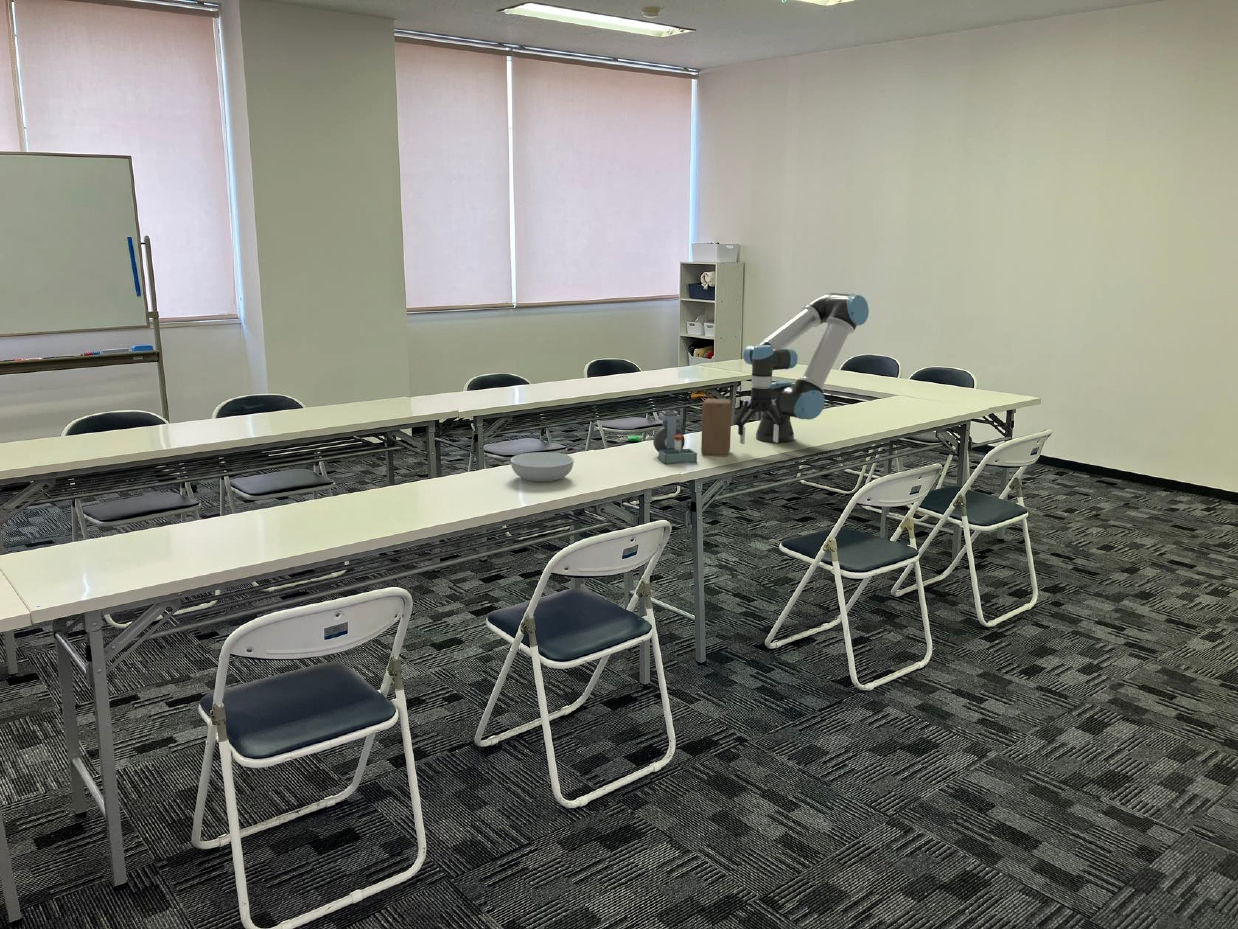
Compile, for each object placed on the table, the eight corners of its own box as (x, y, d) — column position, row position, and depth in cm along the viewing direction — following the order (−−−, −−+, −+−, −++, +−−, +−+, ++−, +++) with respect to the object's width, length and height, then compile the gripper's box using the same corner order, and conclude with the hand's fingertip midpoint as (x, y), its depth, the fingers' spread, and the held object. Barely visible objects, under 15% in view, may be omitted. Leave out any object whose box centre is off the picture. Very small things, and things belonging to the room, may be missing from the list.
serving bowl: (505, 486, 299) (505, 465, 297) (516, 471, 319) (516, 451, 318) (570, 487, 298) (570, 466, 296) (576, 472, 318) (576, 452, 316)
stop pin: (680, 458, 337) (681, 434, 335) (683, 460, 334) (684, 435, 332) (671, 458, 336) (672, 434, 334) (674, 460, 333) (675, 436, 331)
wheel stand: (680, 453, 348) (680, 409, 344) (685, 457, 342) (686, 412, 338) (651, 454, 345) (652, 411, 341) (657, 458, 339) (657, 413, 335)
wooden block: (727, 457, 342) (729, 403, 338) (700, 455, 344) (702, 402, 340) (730, 451, 352) (731, 399, 347) (703, 450, 354) (705, 398, 349)
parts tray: (689, 457, 340) (690, 448, 339) (696, 462, 333) (697, 452, 332) (658, 459, 337) (658, 450, 336) (664, 464, 330) (665, 454, 329)
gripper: (787, 384, 353) (785, 439, 358) (726, 386, 347) (724, 442, 352) (796, 387, 346) (793, 443, 351) (734, 389, 340) (731, 446, 345)
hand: (758, 442), depth 352 cm, fingers open, 13 cm apart
